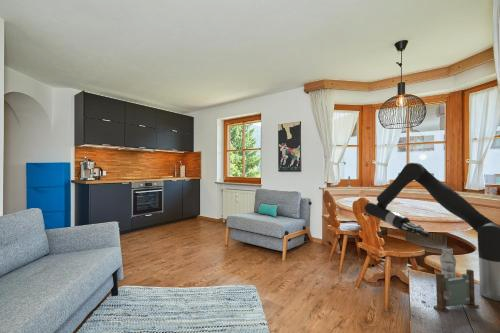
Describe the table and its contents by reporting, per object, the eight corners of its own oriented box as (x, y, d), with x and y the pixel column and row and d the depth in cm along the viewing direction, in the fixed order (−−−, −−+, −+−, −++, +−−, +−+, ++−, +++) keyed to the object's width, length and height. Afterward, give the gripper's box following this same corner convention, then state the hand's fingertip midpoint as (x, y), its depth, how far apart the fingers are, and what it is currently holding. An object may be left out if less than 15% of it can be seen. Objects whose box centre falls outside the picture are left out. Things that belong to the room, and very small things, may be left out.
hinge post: (470, 302, 110) (468, 268, 110) (479, 307, 106) (477, 271, 107) (463, 303, 109) (462, 269, 109) (472, 308, 106) (470, 272, 106)
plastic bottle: (461, 293, 118) (459, 250, 119) (444, 292, 120) (443, 250, 120) (453, 287, 125) (451, 246, 125) (437, 286, 126) (436, 246, 127)
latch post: (442, 306, 107) (441, 271, 107) (451, 312, 103) (450, 275, 103) (433, 308, 106) (432, 272, 106) (443, 313, 102) (441, 276, 102)
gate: (465, 301, 108) (464, 273, 108) (469, 303, 106) (468, 275, 107) (442, 304, 106) (441, 276, 106) (446, 307, 104) (445, 277, 104)
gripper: (389, 214, 133) (421, 228, 117) (407, 214, 138) (439, 228, 122) (386, 227, 135) (416, 243, 119) (403, 227, 139) (435, 242, 123)
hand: (428, 235), depth 120 cm, fingers closed
